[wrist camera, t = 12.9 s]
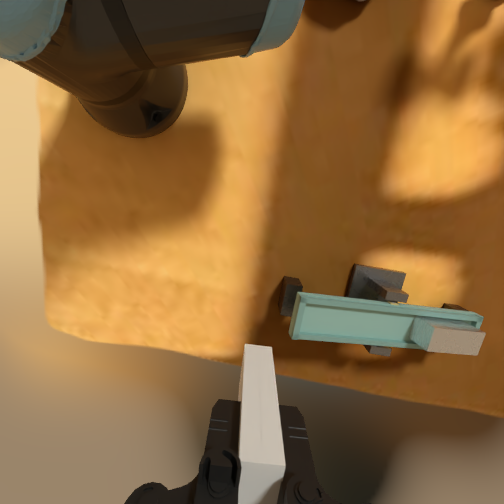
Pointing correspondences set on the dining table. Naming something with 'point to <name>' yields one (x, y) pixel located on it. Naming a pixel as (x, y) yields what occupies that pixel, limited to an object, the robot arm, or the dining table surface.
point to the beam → (363, 320)
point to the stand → (359, 293)
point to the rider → (446, 335)
